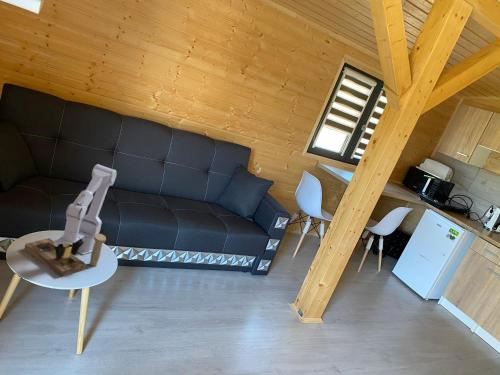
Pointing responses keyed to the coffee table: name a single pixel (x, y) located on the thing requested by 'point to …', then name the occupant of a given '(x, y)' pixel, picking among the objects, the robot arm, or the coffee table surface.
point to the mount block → (53, 257)
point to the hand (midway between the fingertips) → (65, 256)
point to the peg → (65, 255)
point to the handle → (97, 248)
